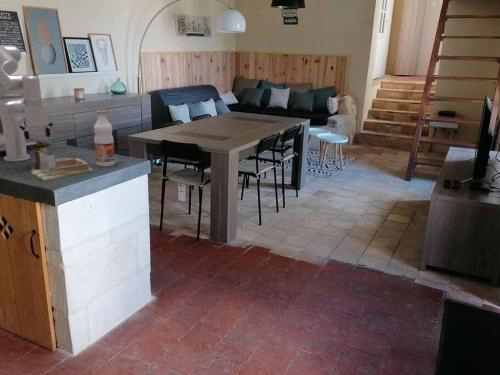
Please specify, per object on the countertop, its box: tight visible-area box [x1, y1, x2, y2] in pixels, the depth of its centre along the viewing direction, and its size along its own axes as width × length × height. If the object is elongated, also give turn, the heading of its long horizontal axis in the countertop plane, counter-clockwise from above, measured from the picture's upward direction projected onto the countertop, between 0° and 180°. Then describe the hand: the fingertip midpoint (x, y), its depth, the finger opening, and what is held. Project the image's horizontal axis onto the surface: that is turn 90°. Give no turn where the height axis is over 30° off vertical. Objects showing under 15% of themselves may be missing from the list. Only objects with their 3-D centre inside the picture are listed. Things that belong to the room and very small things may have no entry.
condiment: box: [30, 143, 48, 171], centre depth 215 cm, size 7×8×12 cm
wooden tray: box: [30, 157, 95, 182], centre depth 210 cm, size 16×24×4 cm, turn 135°
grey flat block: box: [39, 148, 56, 175], centre depth 204 cm, size 10×3×10 cm, turn 45°
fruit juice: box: [93, 110, 116, 167], centre depth 222 cm, size 9×9×28 cm
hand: (37, 137), depth 211 cm, fingers open, 9 cm apart
